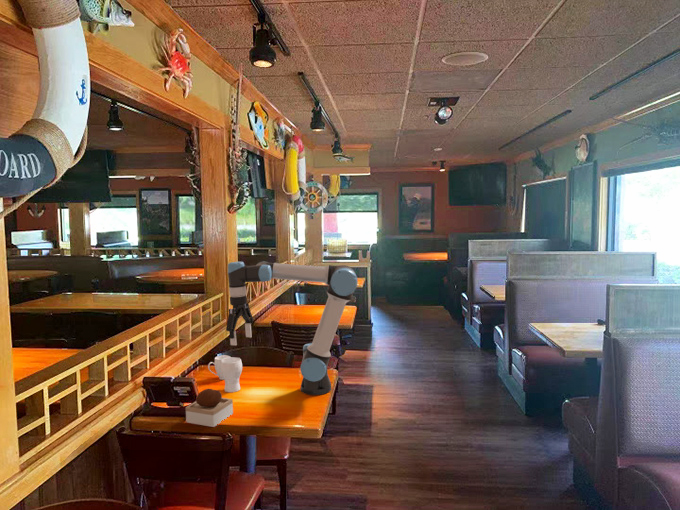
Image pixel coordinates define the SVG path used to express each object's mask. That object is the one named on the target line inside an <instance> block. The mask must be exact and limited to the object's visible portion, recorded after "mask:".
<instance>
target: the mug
mask: <svg viewBox="0 0 680 510" xmlns="http://www.w3.org/2000/svg"><path fill="white" fill-rule="evenodd" d="M226 358H232V357H231V356H230V355H227V354H226V355H225V354H223V355H217V356H215V357H214V362H213V361H210V362H209V363H208V364H207V368H208V370H209V372H211V373H212V374H214V376H218V378H219V380H220V381H221V380H222V381H225V379H224V377H223V375H222V373H221V368H220V366H221V361H222V360H223V359H226ZM211 364H213V365H214V369H215V372H216V373H215V372H214V371H212V370H211V367H210V366H211Z"/></svg>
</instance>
